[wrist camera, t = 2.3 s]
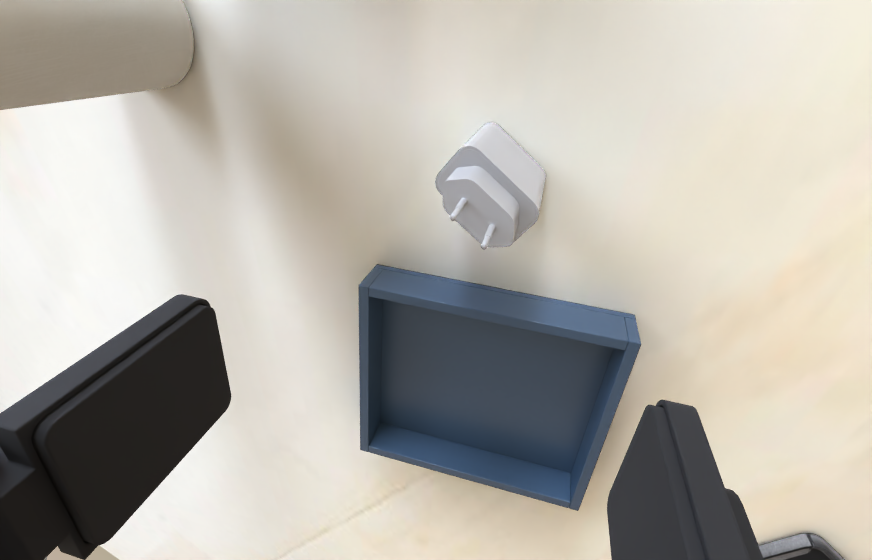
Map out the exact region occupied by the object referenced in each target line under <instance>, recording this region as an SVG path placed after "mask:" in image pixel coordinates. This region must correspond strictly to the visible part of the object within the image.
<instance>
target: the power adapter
mask: <svg viewBox="0 0 872 560" xmlns="http://www.w3.org/2000/svg"><path fill="white" fill-rule="evenodd" d="M545 179H546V173H545V171H544V169H543V168H542V167H541V166H540V165H539V164H538V163H537V162H536V161H535V160H534V159H533V158H532V157H531V156H530V155H529V154H528V153H527V152H526V151H525V150H524V149H523V148H522V147H521V146H520V145H519V144H518V143H517V142H515V141H514V140H513V139H512V138H511V137H510V136H509V135H508V134H507V133H506V132H505V131H504V130H503V129H502V128H501V127H500V126H499V125H498V124H496V123H493V122H490V123H486V124H484V125H483V126H482V127H481V128H480V129H479V130H478V131H477V132H476V133H475V134H474V135H473V136H472V137H471V138H470V139H469V140H468V141H467V142H466V143H465V144H464V145H463V146H462V147H461V148H460V149H459V150H458V151H457V152H456V154H455V155H454V156H453V157H452V158H451V159H450V160H449V162H448V163H447V164H446V165H445V166H444V167H443V168H442V170H441V171H440V172H439V173H438V175H437V177H436V181H435V184H436V188H437V190H438V191H439V192H440V194H441V195H442V196H443V206H444V208H445V210H446V212H447V213H448V214H449V215H450V219H451V220H452V221H454V220H456V221H457V222H458V223H459V224H460V225H461V226H462V227H463V228H464V229H465V230H466V231H468V232H469V233H470V234H471V235H472V236H473V237H474V238H475V239H476V240H477V241H478V242H480V243H481V244H482V245H481V248H482V249H486V248H487V247H507V246H510V245H511V244H512V243H513V242H514V241H516V240H517V239H518V238H519V237H520V236H521V235H522V234H523V233H524V232H526V231H527V230H528V229H529V228H530V227H531V226H532V225H533V224H534V223H535V222H536V221H537V219H538V216H539V211H540V206H541V201H542V195H543V190H544V184H545Z"/></svg>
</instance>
